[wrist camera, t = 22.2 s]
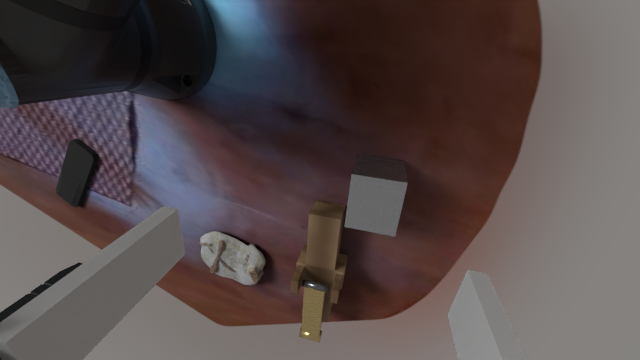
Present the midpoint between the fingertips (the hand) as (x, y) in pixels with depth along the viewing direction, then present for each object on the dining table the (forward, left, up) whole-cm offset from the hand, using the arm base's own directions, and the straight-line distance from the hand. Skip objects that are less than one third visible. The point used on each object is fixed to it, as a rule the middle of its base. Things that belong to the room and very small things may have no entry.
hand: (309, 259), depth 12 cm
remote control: (-50, -15, -26) cm, 58 cm away
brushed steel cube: (+3, -7, -25) cm, 26 cm away
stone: (-19, -25, -25) cm, 40 cm away
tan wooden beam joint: (-3, -21, -25) cm, 32 cm away
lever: (-3, -22, -19) cm, 29 cm away
